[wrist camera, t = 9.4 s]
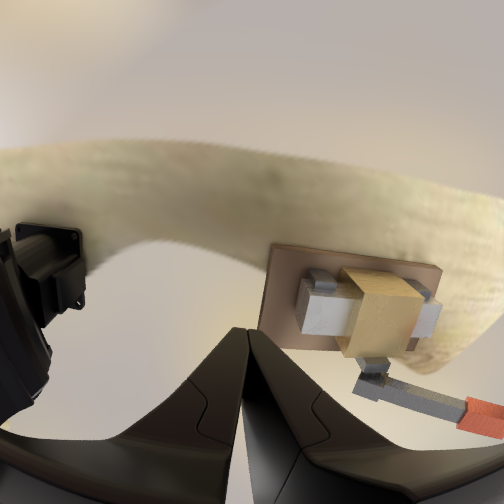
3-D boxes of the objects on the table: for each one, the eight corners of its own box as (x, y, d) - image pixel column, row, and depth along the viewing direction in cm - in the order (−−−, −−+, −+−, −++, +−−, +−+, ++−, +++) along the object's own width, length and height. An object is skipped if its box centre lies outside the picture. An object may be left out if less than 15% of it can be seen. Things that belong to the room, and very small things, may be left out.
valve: (287, 327, 22) (300, 372, 17) (301, 261, 21) (321, 294, 16) (403, 332, 23) (433, 369, 18) (422, 275, 22) (461, 304, 17)
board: (255, 337, 24) (256, 346, 23) (271, 243, 22) (273, 248, 21) (408, 343, 25) (413, 351, 24) (435, 265, 23) (442, 270, 22)
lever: (351, 395, 18) (501, 440, 12) (358, 376, 18) (514, 423, 12) (358, 380, 19) (499, 424, 14) (365, 362, 19) (511, 407, 13)
